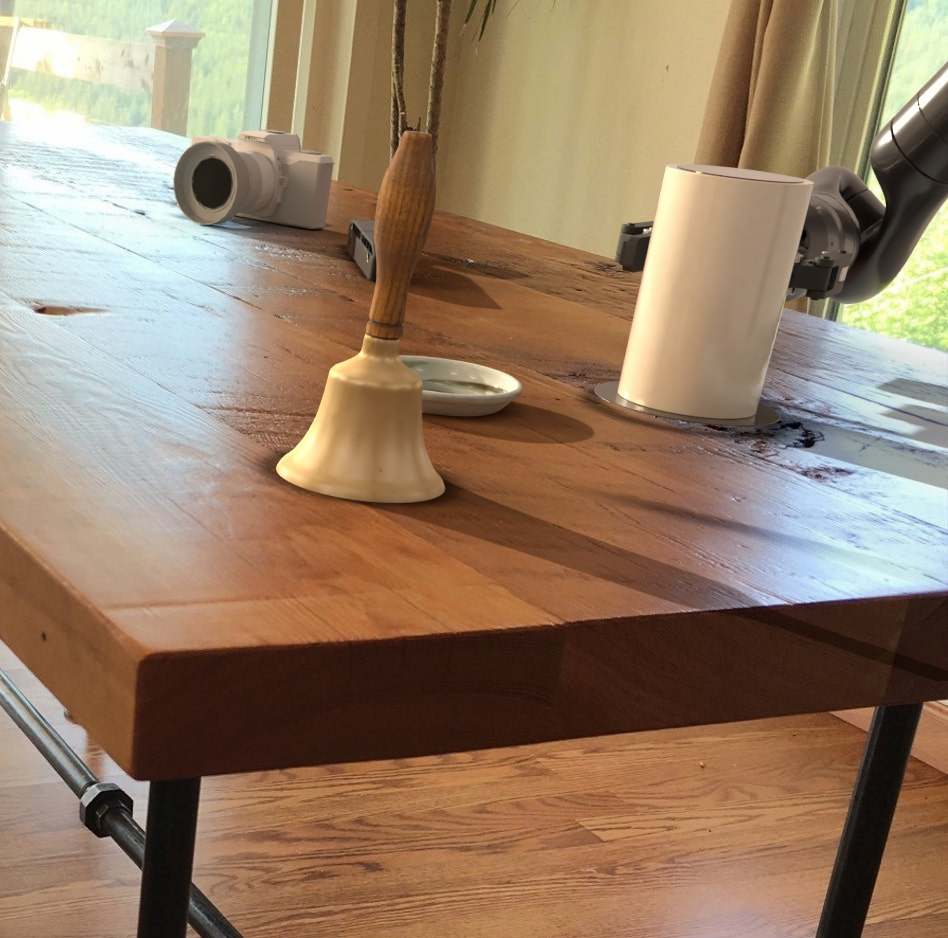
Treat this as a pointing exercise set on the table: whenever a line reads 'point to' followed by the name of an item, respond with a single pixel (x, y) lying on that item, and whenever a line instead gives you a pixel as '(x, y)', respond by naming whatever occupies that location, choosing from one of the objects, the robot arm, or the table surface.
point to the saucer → (462, 386)
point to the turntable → (611, 395)
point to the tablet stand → (363, 246)
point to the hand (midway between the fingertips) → (693, 266)
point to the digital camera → (253, 180)
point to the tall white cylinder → (713, 289)
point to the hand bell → (379, 364)
